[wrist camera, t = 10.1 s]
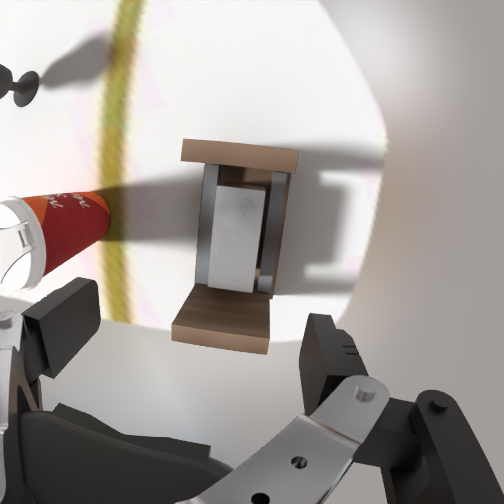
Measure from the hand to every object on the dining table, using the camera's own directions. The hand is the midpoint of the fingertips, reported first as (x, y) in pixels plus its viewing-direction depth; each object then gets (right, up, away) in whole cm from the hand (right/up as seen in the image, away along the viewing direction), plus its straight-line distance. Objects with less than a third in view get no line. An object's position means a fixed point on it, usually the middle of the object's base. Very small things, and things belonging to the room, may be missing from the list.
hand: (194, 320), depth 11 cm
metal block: (+1, +5, +18) cm, 19 cm away
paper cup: (-16, +6, +20) cm, 26 cm away
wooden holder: (+1, +5, +19) cm, 20 cm away
